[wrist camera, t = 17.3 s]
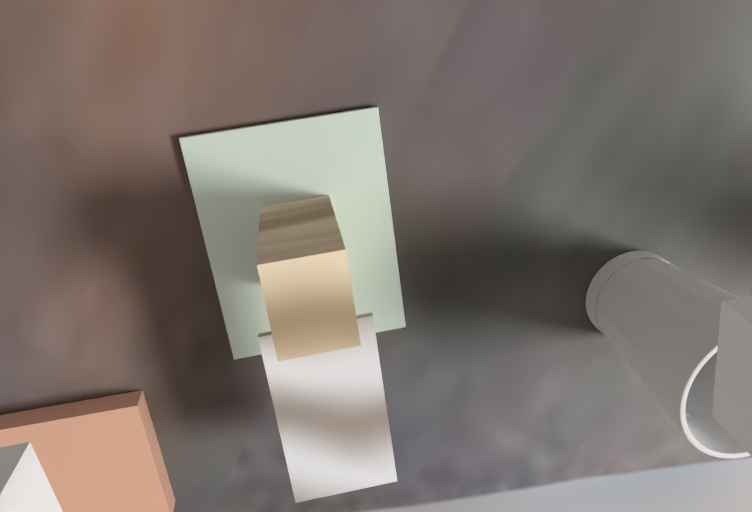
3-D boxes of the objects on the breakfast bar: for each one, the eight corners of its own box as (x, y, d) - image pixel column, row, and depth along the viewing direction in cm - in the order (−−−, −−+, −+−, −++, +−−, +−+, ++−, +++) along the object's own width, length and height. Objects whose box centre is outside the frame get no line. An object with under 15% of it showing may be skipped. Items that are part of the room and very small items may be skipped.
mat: (179, 137, 35) (178, 138, 34) (377, 106, 36) (377, 107, 35) (234, 356, 40) (234, 359, 40) (404, 324, 41) (405, 326, 41)
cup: (620, 366, 45) (733, 483, 34) (550, 301, 42) (649, 405, 31) (706, 287, 44) (854, 381, 33) (640, 214, 41) (778, 291, 30)
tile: (-18, 433, 38) (30, 546, 41) (137, 405, 38) (171, 519, 42) (-4, 411, 40) (41, 521, 43) (143, 386, 40) (176, 495, 44)
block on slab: (242, 209, 36) (234, 269, 28) (345, 192, 37) (367, 245, 29) (292, 436, 42) (297, 540, 34) (380, 418, 43) (406, 516, 35)
